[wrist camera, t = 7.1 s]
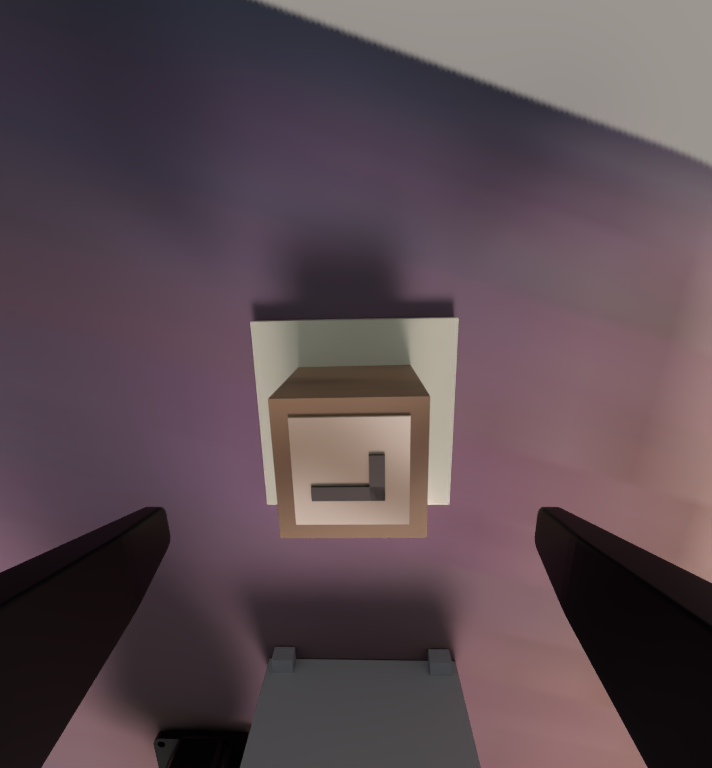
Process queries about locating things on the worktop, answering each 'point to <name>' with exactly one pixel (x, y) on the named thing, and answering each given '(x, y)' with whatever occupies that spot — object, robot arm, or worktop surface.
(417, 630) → the worktop surface
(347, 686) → the screen
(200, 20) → the worktop surface
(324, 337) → the coaster
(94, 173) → the worktop surface
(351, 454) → the letter cube
